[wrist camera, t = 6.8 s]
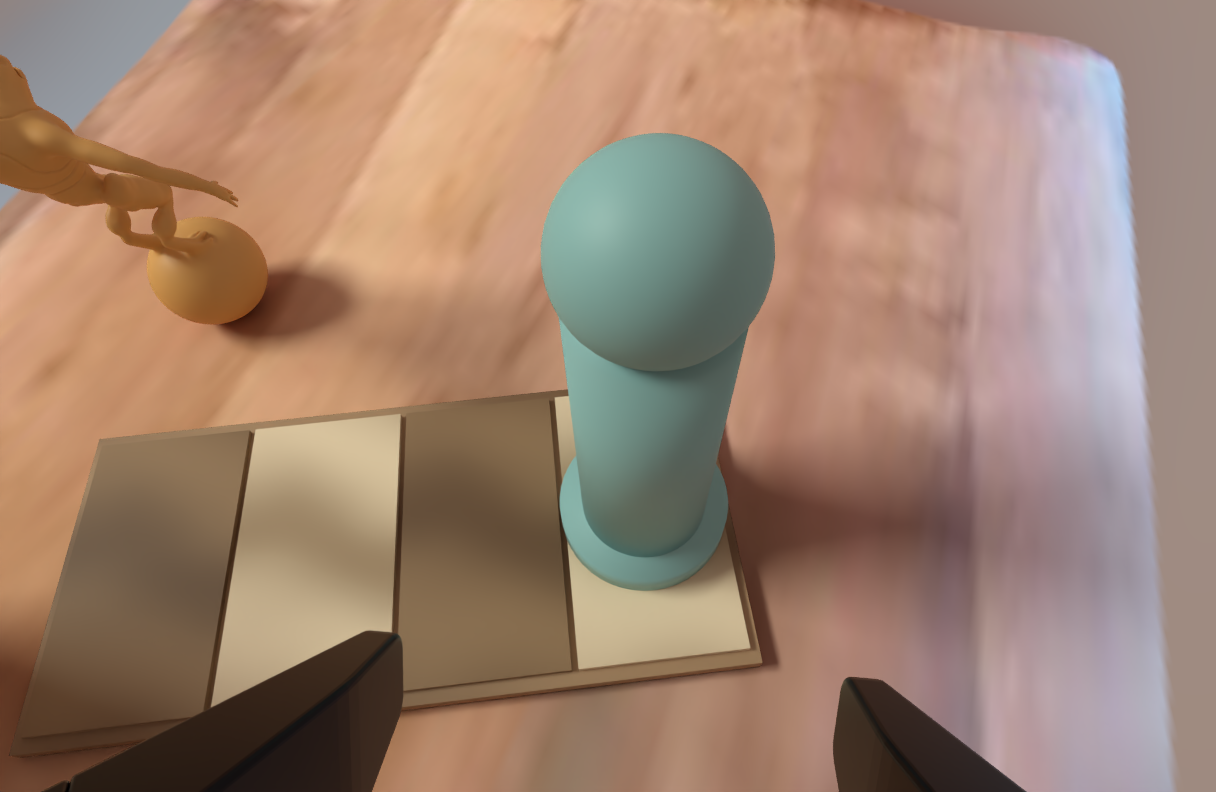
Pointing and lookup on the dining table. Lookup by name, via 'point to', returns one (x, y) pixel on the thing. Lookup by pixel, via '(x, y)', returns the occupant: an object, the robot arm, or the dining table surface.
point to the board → (351, 571)
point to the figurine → (133, 208)
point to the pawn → (652, 347)
